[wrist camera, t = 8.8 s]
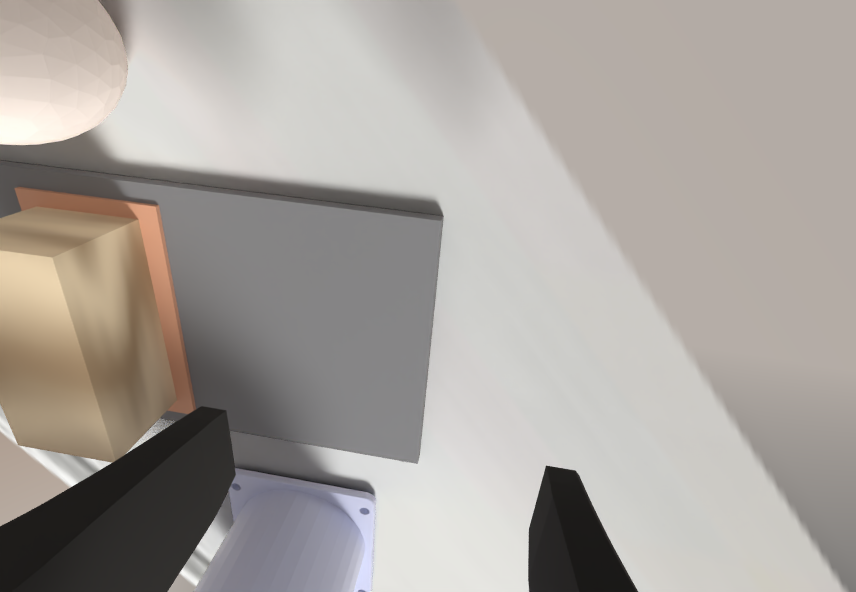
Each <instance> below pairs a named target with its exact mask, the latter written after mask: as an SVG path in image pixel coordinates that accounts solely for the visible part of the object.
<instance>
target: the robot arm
mask: <svg viewBox="0 0 856 592" xmlns="http://www.w3.org/2000/svg"><path fill="white" fill-rule="evenodd" d="M228 490H229V496H230V502H231V508H232V515H233V521H234V523H233V525H232V527H231V528H230V530H229V532H228V533H227V535H226V537H225V539H224V540H223V542H222V544H221V545H220V547H219V549H218V550H217V552H216V554H215V556H214V557H213V559H212V561H211V562H210V564H209V566H208V567H207V569H206V571H205V573H204V574H203V576H202V578H201V579H200V581H199V583H198V584H197V586H196V588H195V590H194V591H193V592H372V577H373V555H374V533H375V510H376V499H375V497H374V496H373V495H372V494H370V493H368V492H363V491H357V490H352V489H347V488H341V487H336V486H330V485H325V484H320V483H314V482H309V481H303V480H298V479H293V478H287V477H282V476H276V475H271V474H266V473H260V472H255V471H249V470H244V469H238V468H235V465H234V458H233V451H232V444H231V438H230V431H229V424H228V417H227V410H222V409H216V408H210V407H204V406H201V407H199V408H197V409H196V410H194V411H192V412H191V413H189V414H188V415H186V416H184V417H183V418H181V419H180V420H178V421H177V422H175V423H174V424H172V425H171V426H169V427H167V428H166V429H164V430H163V431H161V432H160V433H158V434H157V435H155V436H154V437H152V438H150V439H149V440H147V441H146V442H144V443H143V444H141V445H140V446H138V447H136V448H135V449H133V450H132V451H130V452H128V453H127V454H125V455H124V456H122V457H121V458H119V459H117V460H116V461H114V462H113V463H111V464H110V465H108V466H106V467H105V468H103V469H101V470H100V471H98V472H96V473H95V474H93V475H91V476H90V477H88V478H86V479H84V480H83V481H81V482H79V483H78V484H76V485H74V486H73V487H71V488H69V489H67V490H66V491H64V492H62V493H61V494H59V495H57V496H55V497H54V498H52V499H50V500H49V501H47V502H45V503H44V504H41V505H40V506H38V507H36V508H34V509H32V510H31V511H29V512H27V513H25V514H23V515H21V516H20V517H17V518H16V519H14V520H12V521H10V522H8V523H6V524H4V525H2V526H0V592H167V591H168V590H169V588H170V587H171V585H172V584H173V582H174V580H175V579H176V577H177V576H178V574H179V573H180V571H181V570H182V568H183V567H184V565H185V564H186V562H187V561H188V559H189V558H190V556H191V554H192V553H193V551H194V550H195V548H196V547H197V545H198V544H199V542H200V540H201V539H202V537H203V536H204V534H205V533H206V531H207V530H208V528H209V526H210V525H211V523H212V522H213V520H214V518H215V516H216V514H217V512H218V511H219V509H220V507H221V505H222V503H223V501H224V499H225V497H226V495H227V493H228ZM528 581H529V592H638V591H637V589H636V587H635V585H634V584H633V582H632V580H631V578H630V576H629V575H628V573H627V571H626V569H625V567H624V565H623V564H622V562H621V560H620V558H619V556H618V555H617V553H616V551H615V549H614V547H613V545H612V543H611V541H610V539H609V538H608V536H607V534H606V532H605V530H604V528H603V526H602V524H601V522H600V520H599V518H598V516H597V514H596V511H595V509H594V507H593V505H592V503H591V501H590V499H589V497H588V494H587V492H586V490H585V488H584V485H583V483H582V481H581V479H580V476H579V475H578V473H577V472H576V471H574V470H568V469H563V468H557V467H551V466H546V468H545V472H544V476H543V479H542V483H541V487H540V490H539V494H538V498H537V502H536V505H535V509H534V513H533V516H532V520H531V524H530V527H529V559H528Z"/></svg>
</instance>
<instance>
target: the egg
mask: <svg viewBox="0 0 856 592" xmlns="http://www.w3.org/2000/svg"><path fill="white" fill-rule="evenodd" d="M127 74H128V65H127V56H126V50H125V47H124V44H123V41H122V38H121V35H120V33H119V31H118V30H117V28H116V26H115V24H114V23H113V21H112V19H111V17H110V16H109V14H108V13H107V11H106V10H105V9H104V7H103V6H102V5H101V3H100V2H99V1H98V0H0V144H6V145H36V144H44V143H50V142H57V141H63V140H66V139H69V138H72V137H75V136H78V135H80V134H82V133H84V132H86V131H88V130H90V129H92V128H94V127H96V126H97V125H99V124H100V123H101V122H102V121H103V120H104V119H105V118H106V117H107V116H108V115H109V114H110V113H111V112H112V111H113V110H114V109H115V108H116V106H117V104H118V102H119V100H120V98H121V96H122V94H123V91H124V89H125V87H126V82H127Z"/></svg>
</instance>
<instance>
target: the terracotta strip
mask: <svg viewBox="0 0 856 592" xmlns="http://www.w3.org/2000/svg"><path fill="white" fill-rule="evenodd" d="M15 192H16V195H17V198H18V201H19V204H20V207H21V210H22V211H24V210H27V209H30V208H33V207H45V208H53V209H61V210H69V211H77V212H85V213H93V214H100V215H108V216H116V217H124V218H132V219H139V224H140V229H141V233H142V238H143V243H144V247H145V252H146V257H147V261H148V266H149V271H150V275H151V280H152V285H153V289H154V294H155V299H156V304H157V308H158V313H159V318H160V322H161V327H162V332H163V336H164V341H165V346H166V350H167V355H168V360H169V364H170V369H171V374H172V378H173V383H174V388H175V393H176V397H177V401H176V402H175V403H174V404H173V405H172V406H171V407H170V408H169V409H168V410H167V411H173V412H179V413H184V414H189V413H191V412H192V411H194V410H196V405H195V400H194V394H193V389H192V383H191V378H190V372H189V367H188V362H187V356H186V351H185V345H184V340H183V334H182V329H181V323H180V318H179V312H178V307H177V301H176V296H175V290H174V285H173V280H172V274H171V269H170V263H169V258H168V252H167V247H166V241H165V236H164V230H163V225H162V219H161V214H160V208H159V205H154V204H146V203H138V202H131V201H123V200H115V199H108V198H100V197H93V196H85V195H77V194H70V193H62V192H54V191H47V190H39V189H32V188H24V187H17V188H15Z"/></svg>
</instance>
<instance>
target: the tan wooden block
mask: <svg viewBox="0 0 856 592" xmlns="http://www.w3.org/2000/svg"><path fill="white" fill-rule="evenodd" d="M176 401H177V397H176V393H175V388H174V383H173V378H172V374H171V369H170V364H169V360H168V355H167V350H166V346H165V341H164V336H163V332H162V327H161V322H160V318H159V313H158V308H157V304H156V299H155V294H154V289H153V285H152V280H151V275H150V271H149V266H148V261H147V257H146V252H145V247H144V243H143V238H142V233H141V229H140V224H139V219H132V218H124V217H116V216H108V215H100V214H93V213H85V212H77V211H69V210H61V209H53V208H45V207H33V208H30V209H27V210H24V211H21V212H18V213H15V214H12V215H9V216H5V217H2V218H0V404H1V406H2V409H3V411H4V413H5V416H6V418H7V420H8V423H9V425H10V427H11V429H12V432H13V434H14V436H15V439H16V441H17V443H18V445H20V446H25V447H31V448H36V449H42V450H47V451H53V452H58V453H63V454H69V455H74V456H80V457H85V458H91V459H96V460H102V461H107V462H114V461H116V460H117V459H119V458H121V457H122V456H124V455H125V454H126V453H127V452H128V451H129V450H130V449H131V447H132V446H133V445H134V444H135V443H136V442H137V441H138V440H139V439H140V438H141V437H142V436H143V435H144V434H145V433H146V432H147V431H148V430H149V429H150V428H151V427H152V426H153V425H154V424H155V423H156V421H157V420H158V419H159V418H160V417H161V416H162V415H163V414H164V413H165V412H166V411H167V410H168V409H169V408H170V407H171V406H172V405H173V404H174V403H175V402H176Z"/></svg>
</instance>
